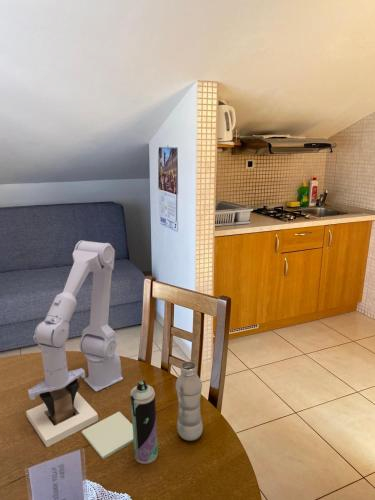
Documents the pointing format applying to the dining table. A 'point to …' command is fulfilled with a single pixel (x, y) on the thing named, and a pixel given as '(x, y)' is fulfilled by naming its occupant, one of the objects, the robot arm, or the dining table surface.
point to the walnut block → (61, 405)
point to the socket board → (65, 428)
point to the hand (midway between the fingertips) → (61, 409)
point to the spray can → (144, 423)
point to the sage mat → (109, 435)
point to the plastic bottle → (189, 402)
